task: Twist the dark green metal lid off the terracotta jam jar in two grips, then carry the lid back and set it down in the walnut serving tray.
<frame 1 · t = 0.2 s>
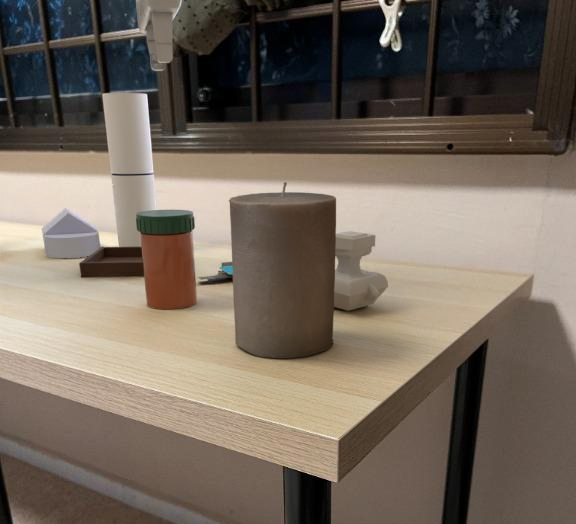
hand: (161, 66, 73), 26 cm above the table, tool pointing down, fingers open, 8 cm apart
wedge on round base: (73, 252, 106), on the table
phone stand: (269, 279, 86), on the table
stamp: (347, 308, 72), on the table
jar lid: (165, 216, 70), point 10 cm above the table, screwed on, not yet turned
tray: (132, 266, 94), on the table
pillar candle: (283, 344, 60), on the table
cylindrical container: (139, 248, 110), on the table
jar: (172, 302, 74), on the table
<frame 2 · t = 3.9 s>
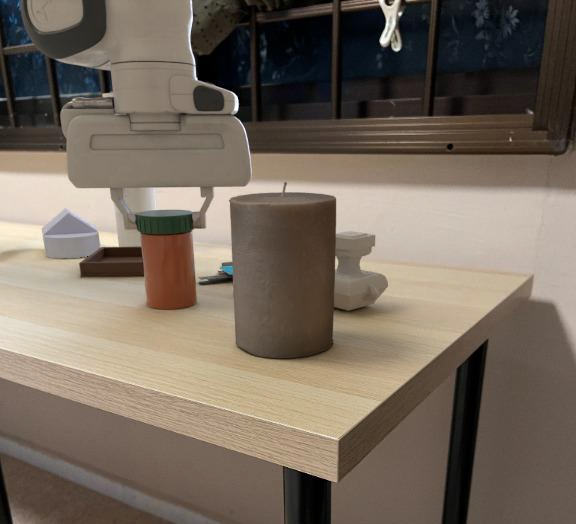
hand: (166, 228, 70), 9 cm above the table, tool pointing down, fingers closed on jar lid, 6 cm apart
jar lid: (165, 216, 70), point 10 cm above the table, screwed on, not yet turned, touching gripper
everything else where it was.
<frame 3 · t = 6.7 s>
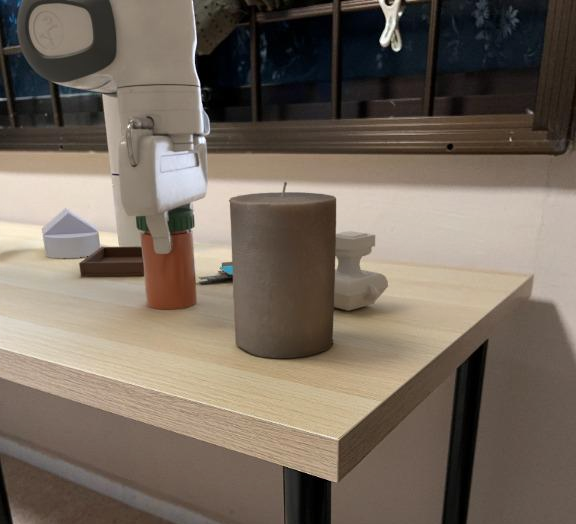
hand: (174, 247, 71), 7 cm above the table, tool pointing down, fingers closed on jar, 6 cm apart
jar lid: (165, 214, 70), point 10 cm above the table, turned 79° so far, risen 0.2 cm, still on its thread
jar: (172, 302, 74), on the table, touching gripper
everything else where it was.
when the fingers open (6 cm above the table, at t = 6.9 s): jar stays where it is, on the table.
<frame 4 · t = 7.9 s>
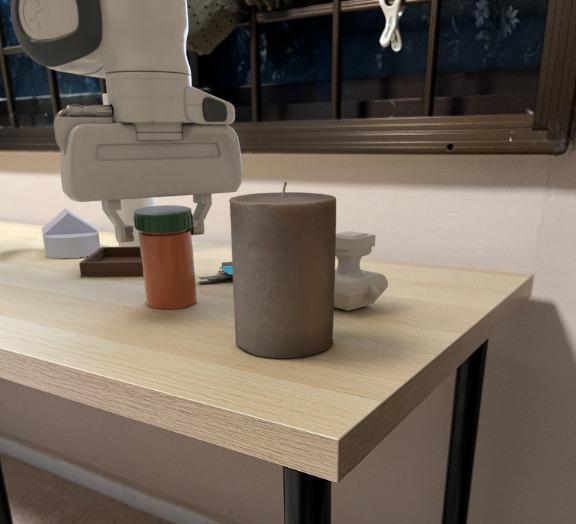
hand: (161, 238, 70), 8 cm above the table, tool pointing down, fingers open, 7 cm apart
jar: (171, 301, 74), on the table
everything else where it was.
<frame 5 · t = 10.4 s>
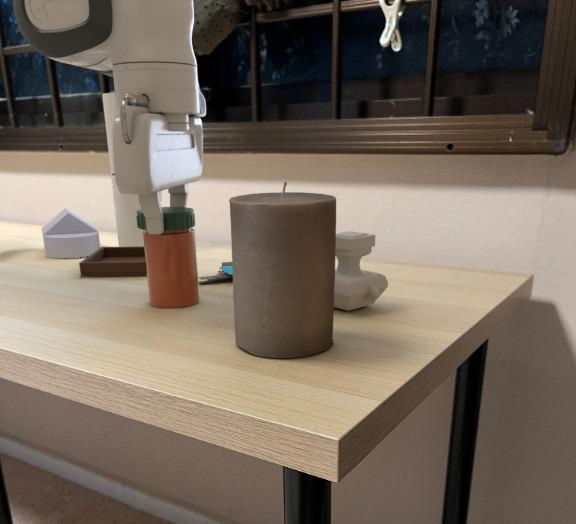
hand: (168, 228, 71), 9 cm above the table, tool pointing down, fingers closed on jar lid, 6 cm apart
jar lid: (165, 213, 70), point 10 cm above the table, off its thread, touching gripper, jar
jar: (174, 301, 74), on the table, touching jar lid
everything else where it was.
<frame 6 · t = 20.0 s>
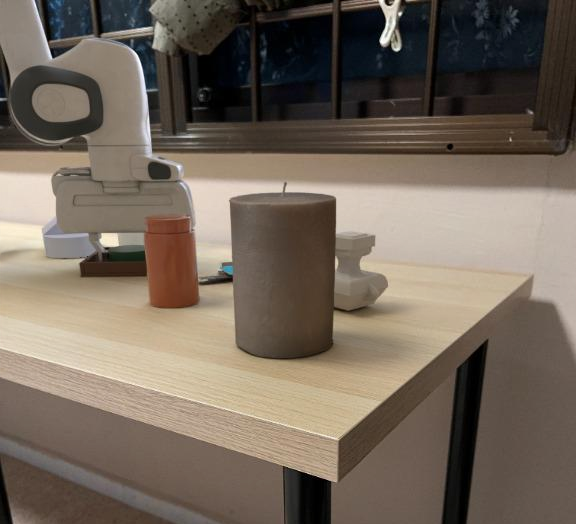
hand: (131, 262, 94), 1 cm above the table, tool pointing down, fingers closed on jar lid, 6 cm apart
jar lid: (130, 251, 93), point 2 cm above the table, off its thread, touching gripper
jar: (174, 301, 74), on the table
everything else where it was.
when the fingers open (2 cm above the table, at t = 33.8 s): jar lid drops 1 cm, resting on tray.
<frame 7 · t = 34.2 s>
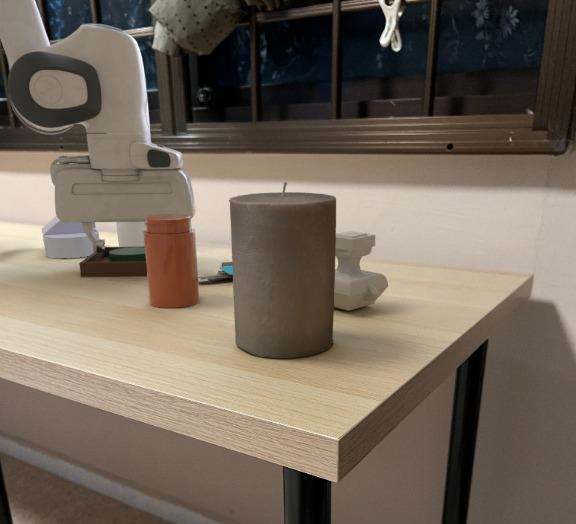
hand: (131, 251, 93), 2 cm above the table, tool pointing down, fingers open, 8 cm apart
jar lid: (131, 253, 93), point 2 cm above the table, off its thread, touching tray
everything else where it was.
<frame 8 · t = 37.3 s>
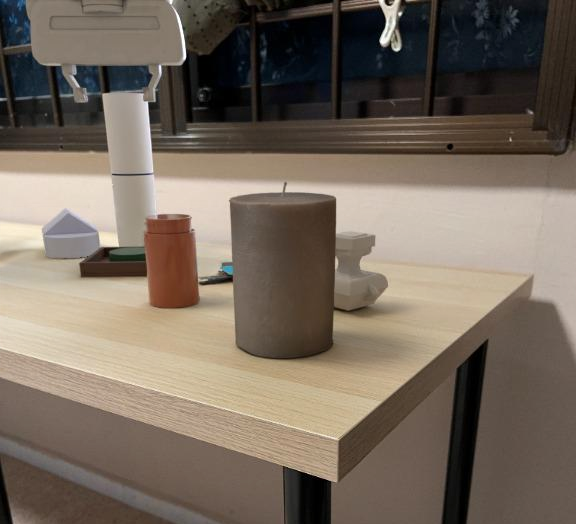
hand: (115, 102, 85), 23 cm above the table, tool pointing down, fingers open, 8 cm apart
nothing on the table moved.
at the end: jar lid inside the target area on the tray (0.2 cm from its centre), point 2.0 cm above the tray's base; jar lid point 2.0 cm above the table; the gripper is holding nothing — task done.
